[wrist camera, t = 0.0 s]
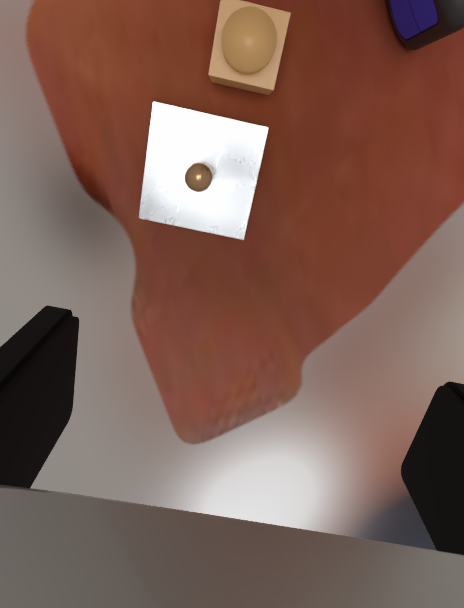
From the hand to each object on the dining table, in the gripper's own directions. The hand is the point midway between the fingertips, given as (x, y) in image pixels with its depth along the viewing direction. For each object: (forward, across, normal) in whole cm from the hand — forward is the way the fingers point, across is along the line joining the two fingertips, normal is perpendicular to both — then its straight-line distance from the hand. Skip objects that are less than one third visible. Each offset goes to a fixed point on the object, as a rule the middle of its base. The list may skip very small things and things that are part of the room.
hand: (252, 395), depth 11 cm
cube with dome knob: (+31, +2, -12) cm, 33 cm away
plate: (+31, +4, -2) cm, 32 cm away
